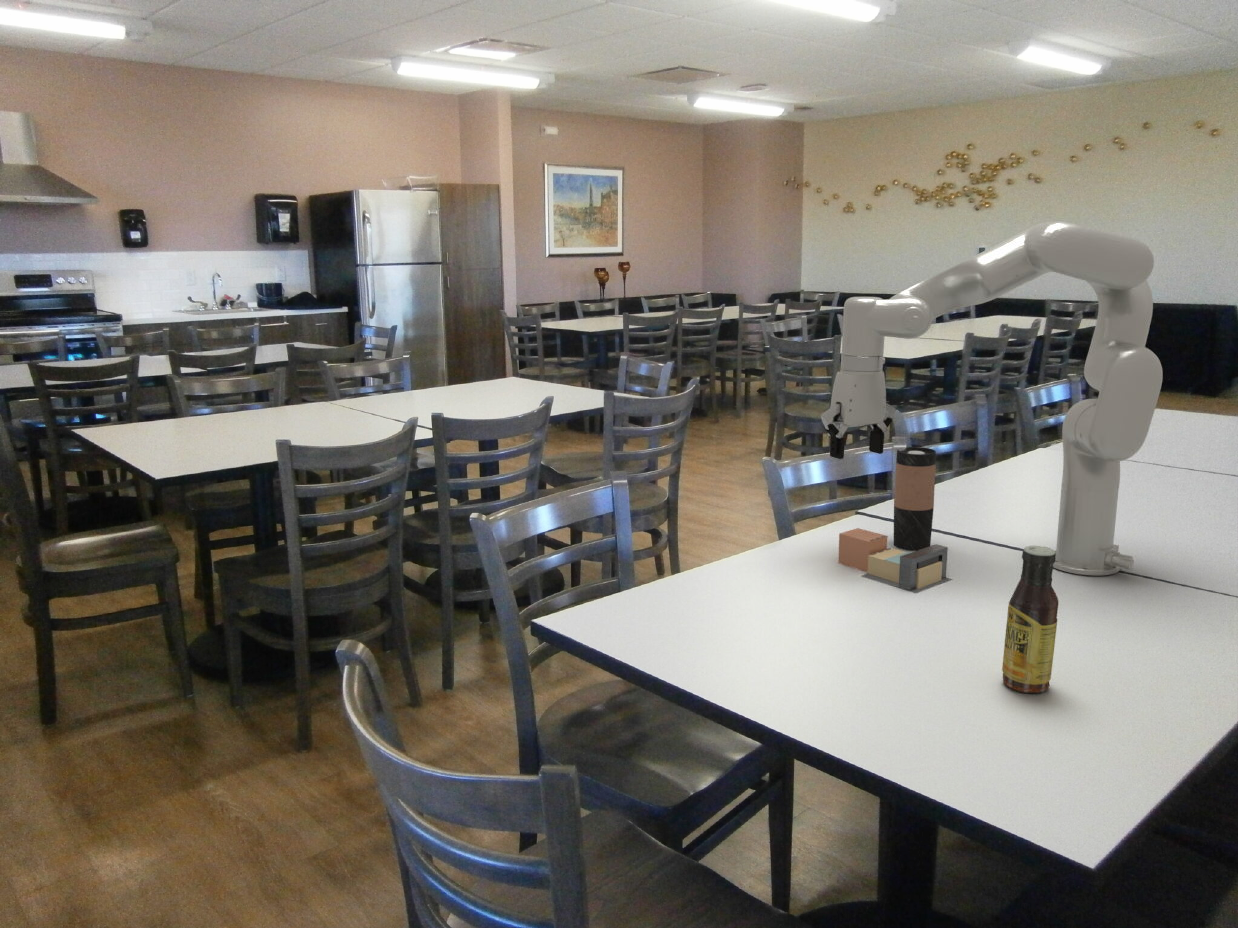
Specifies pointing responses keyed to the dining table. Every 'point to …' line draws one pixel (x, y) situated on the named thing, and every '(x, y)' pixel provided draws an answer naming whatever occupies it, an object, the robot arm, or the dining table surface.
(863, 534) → the stub
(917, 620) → the dining table surface
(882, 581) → the mat
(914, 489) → the travel mug
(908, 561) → the grey rectangular collar
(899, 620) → the dining table surface
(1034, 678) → the sauce bottle
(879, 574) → the tan and teal block
